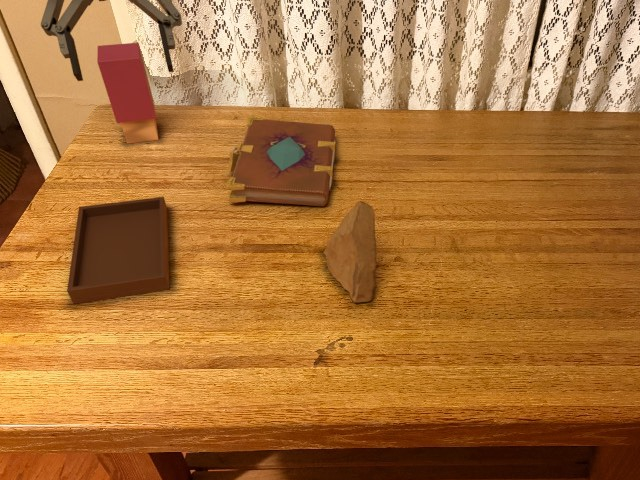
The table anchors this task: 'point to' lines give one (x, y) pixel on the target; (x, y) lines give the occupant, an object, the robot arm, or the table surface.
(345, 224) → the rock
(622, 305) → the table surface
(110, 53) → the top block
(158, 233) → the tray
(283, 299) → the table surface
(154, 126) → the base block
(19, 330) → the table surface
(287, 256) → the table surface
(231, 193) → the book
